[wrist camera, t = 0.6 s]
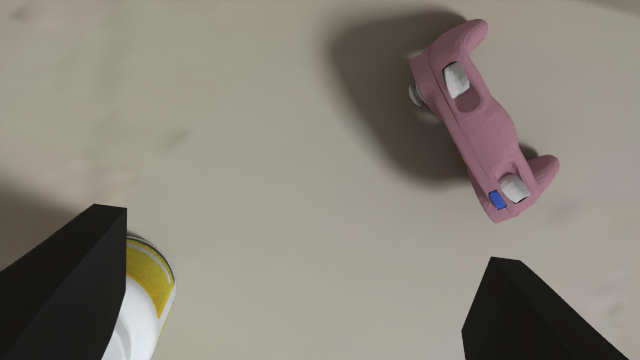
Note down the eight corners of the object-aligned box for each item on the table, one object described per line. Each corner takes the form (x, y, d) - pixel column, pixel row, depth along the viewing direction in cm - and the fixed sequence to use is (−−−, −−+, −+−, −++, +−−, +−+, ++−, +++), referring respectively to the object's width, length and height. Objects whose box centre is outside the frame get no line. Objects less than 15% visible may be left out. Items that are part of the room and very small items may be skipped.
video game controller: (405, 51, 33) (384, 72, 27) (480, 8, 31) (477, 19, 25) (486, 199, 35) (485, 251, 28) (562, 166, 33) (579, 214, 26)
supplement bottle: (75, 228, 30) (-3, 280, 20) (182, 239, 31) (155, 295, 21) (64, 329, 31) (-17, 428, 21) (170, 339, 31) (138, 437, 22)
